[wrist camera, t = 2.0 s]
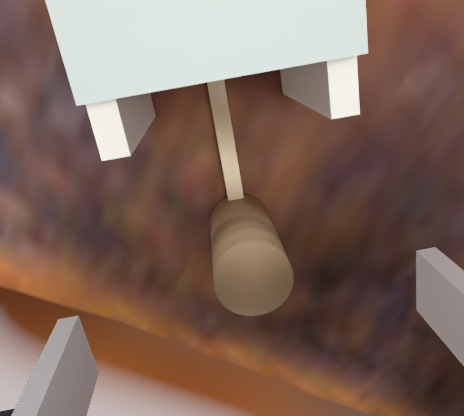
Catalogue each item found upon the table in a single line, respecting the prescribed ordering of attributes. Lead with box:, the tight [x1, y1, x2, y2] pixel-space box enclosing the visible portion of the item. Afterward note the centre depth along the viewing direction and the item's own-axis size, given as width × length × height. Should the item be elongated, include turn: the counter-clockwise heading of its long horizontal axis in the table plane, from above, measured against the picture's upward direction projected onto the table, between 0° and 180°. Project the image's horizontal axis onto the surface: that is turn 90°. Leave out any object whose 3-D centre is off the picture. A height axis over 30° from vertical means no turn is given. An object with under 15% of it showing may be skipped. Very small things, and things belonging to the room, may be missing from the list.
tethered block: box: [207, 80, 294, 316], centre depth 20 cm, size 17×5×7 cm, turn 10°
